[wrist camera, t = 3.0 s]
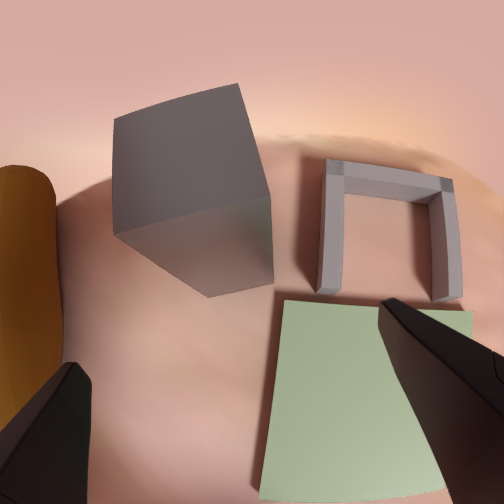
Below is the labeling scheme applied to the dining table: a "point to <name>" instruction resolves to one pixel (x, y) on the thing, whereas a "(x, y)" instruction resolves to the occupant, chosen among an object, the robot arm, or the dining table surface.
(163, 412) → the dining table surface
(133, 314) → the dining table surface
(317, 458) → the two-tone flat tray
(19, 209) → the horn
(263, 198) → the chute block
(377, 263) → the dining table surface
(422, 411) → the robot arm
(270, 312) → the dining table surface
